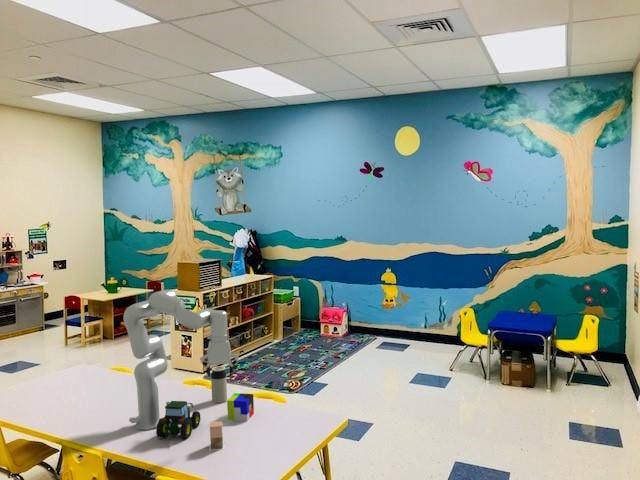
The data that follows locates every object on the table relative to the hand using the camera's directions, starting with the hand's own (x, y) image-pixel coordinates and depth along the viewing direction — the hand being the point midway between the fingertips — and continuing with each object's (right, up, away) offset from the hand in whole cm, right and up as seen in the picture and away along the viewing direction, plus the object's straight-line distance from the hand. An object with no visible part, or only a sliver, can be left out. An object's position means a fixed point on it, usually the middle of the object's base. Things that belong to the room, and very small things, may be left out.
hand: (219, 375), depth 239 cm
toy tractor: (-20, -29, +7) cm, 36 cm away
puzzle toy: (+6, -27, +24) cm, 37 cm away
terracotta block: (0, -24, -10) cm, 26 cm away
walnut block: (0, -29, -10) cm, 30 cm away
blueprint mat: (0, -29, -10) cm, 31 cm away
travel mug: (-9, -26, +45) cm, 53 cm away
